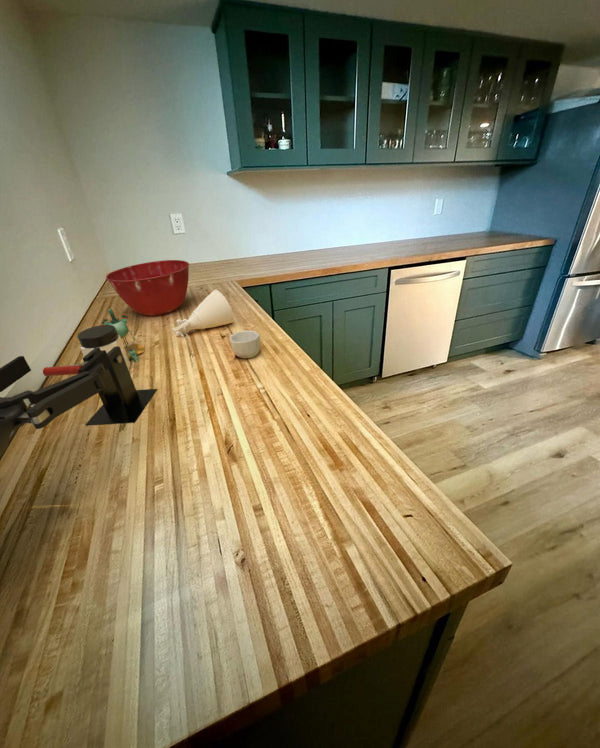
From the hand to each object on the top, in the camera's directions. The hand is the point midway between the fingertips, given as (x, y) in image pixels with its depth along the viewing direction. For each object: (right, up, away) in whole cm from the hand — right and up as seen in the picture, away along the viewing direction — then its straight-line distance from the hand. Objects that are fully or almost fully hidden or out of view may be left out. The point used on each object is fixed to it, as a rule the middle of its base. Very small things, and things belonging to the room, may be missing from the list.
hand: (65, 360), depth 55 cm
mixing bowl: (-15, +22, +74) cm, 79 cm away
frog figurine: (-10, +3, +40) cm, 41 cm away
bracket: (+1, -10, +16) cm, 19 cm away
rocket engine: (+7, +12, +54) cm, 56 cm away
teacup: (+24, +3, +36) cm, 43 cm away
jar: (-9, -3, +31) cm, 32 cm away
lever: (0, -2, +5) cm, 6 cm away
